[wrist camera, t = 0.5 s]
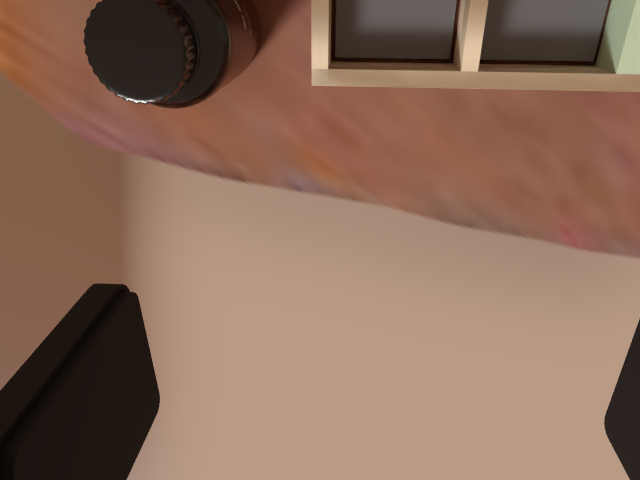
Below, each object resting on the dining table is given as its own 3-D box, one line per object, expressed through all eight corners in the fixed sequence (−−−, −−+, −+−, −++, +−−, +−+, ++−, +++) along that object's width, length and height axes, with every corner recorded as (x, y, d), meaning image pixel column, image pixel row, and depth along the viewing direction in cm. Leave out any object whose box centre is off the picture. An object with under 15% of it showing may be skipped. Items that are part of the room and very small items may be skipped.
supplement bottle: (276, -3, 32) (233, 10, 21) (241, 97, 35) (188, 152, 24) (172, -52, 31) (74, -65, 20) (146, 55, 34) (49, 92, 23)
